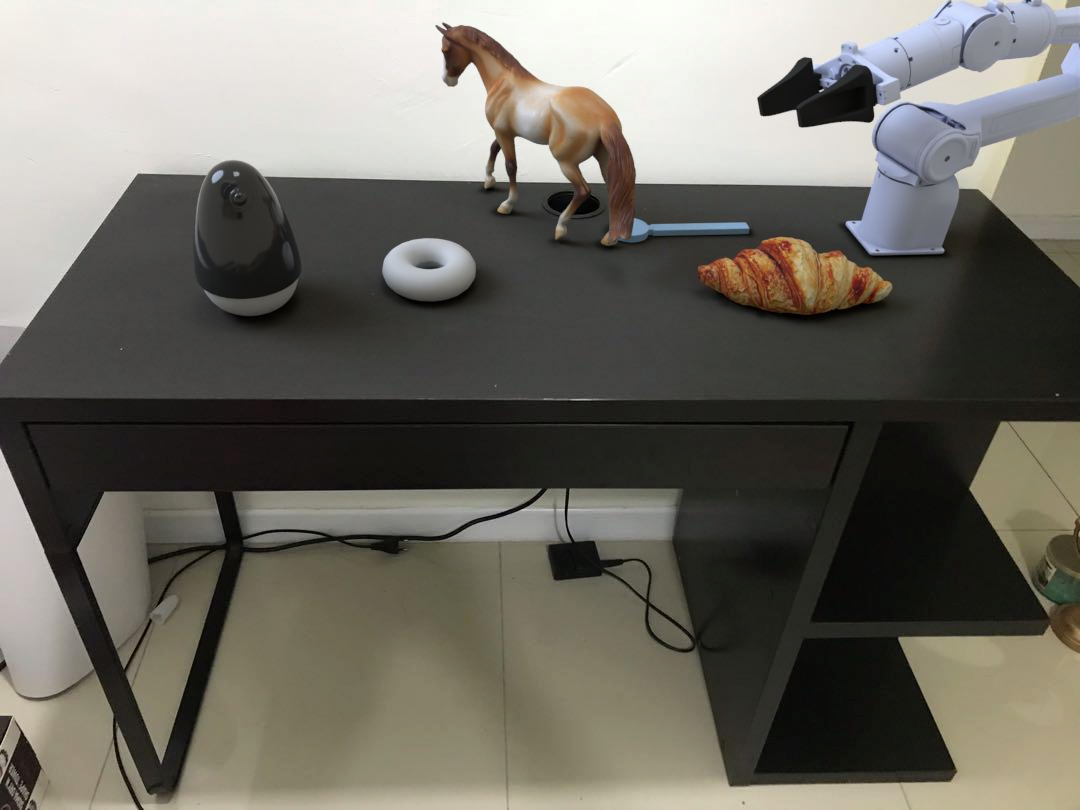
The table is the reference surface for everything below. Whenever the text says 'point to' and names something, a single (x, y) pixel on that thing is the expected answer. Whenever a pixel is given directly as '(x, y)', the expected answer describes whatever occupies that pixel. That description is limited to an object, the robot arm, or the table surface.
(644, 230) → the spoon
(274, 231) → the pump dispenser
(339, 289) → the table surface
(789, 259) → the croissant
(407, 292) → the donut
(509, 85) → the horse figurine
